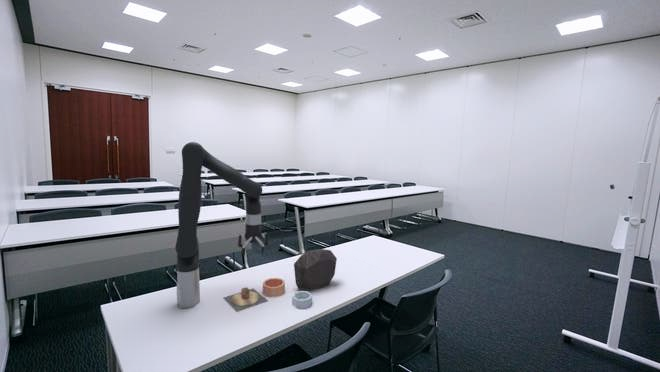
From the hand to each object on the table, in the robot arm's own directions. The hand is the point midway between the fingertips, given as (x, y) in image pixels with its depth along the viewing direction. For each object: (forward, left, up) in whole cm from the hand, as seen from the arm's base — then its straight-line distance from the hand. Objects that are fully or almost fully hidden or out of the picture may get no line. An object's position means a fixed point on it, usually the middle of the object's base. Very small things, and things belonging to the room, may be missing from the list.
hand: (252, 254), depth 154 cm
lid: (-6, -4, -20) cm, 22 cm away
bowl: (+9, -5, -21) cm, 23 cm away
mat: (-6, -4, -21) cm, 22 cm away
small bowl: (+14, -23, -21) cm, 34 cm away
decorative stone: (+30, -13, -21) cm, 39 cm away
